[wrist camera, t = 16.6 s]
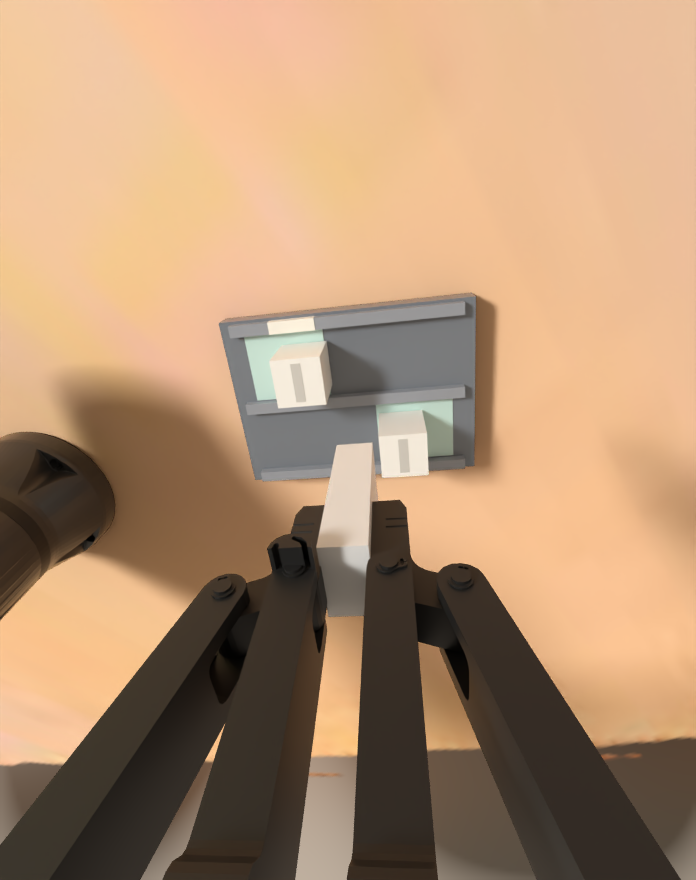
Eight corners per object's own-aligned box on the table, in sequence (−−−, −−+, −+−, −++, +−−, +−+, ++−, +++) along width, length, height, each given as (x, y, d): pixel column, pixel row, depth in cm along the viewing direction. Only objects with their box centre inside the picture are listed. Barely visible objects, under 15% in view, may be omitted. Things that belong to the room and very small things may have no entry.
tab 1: (289, 388, 41) (278, 408, 37) (281, 345, 40) (269, 361, 35) (332, 384, 41) (326, 404, 36) (326, 340, 39) (319, 356, 35)
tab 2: (382, 451, 43) (382, 478, 39) (378, 413, 42) (378, 436, 37) (423, 448, 43) (428, 475, 39) (422, 409, 41) (427, 433, 37)
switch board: (260, 470, 48) (253, 484, 45) (225, 318, 41) (215, 325, 38) (470, 456, 46) (475, 470, 43) (471, 292, 39) (477, 297, 36)
